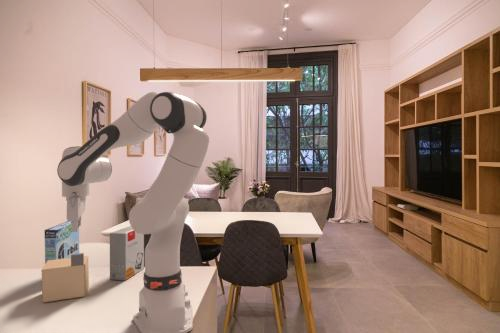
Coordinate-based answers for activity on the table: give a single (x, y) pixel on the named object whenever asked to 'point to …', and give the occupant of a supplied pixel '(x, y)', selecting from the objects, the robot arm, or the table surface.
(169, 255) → the robot arm
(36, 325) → the table surface
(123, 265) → the hard drive box
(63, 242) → the gum box
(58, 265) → the carton
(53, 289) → the front flap
